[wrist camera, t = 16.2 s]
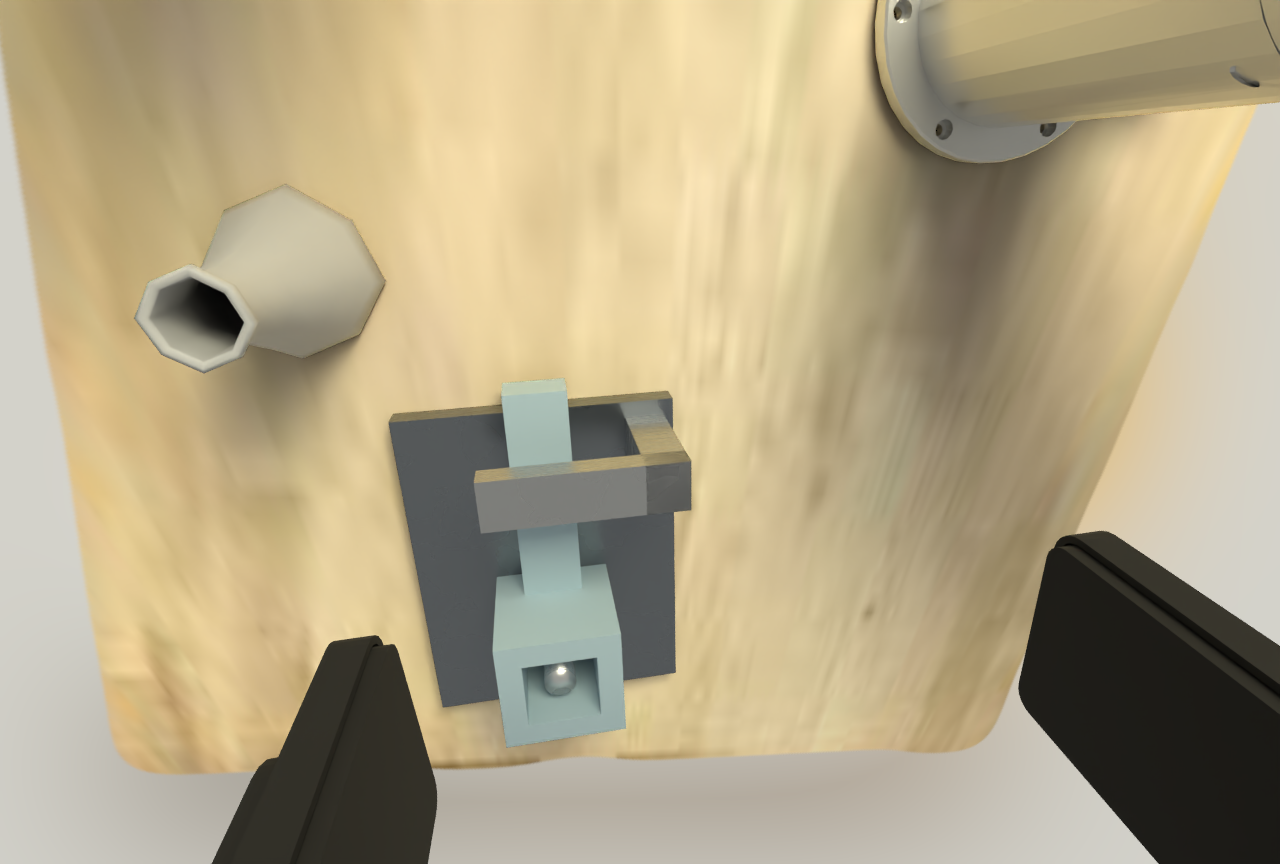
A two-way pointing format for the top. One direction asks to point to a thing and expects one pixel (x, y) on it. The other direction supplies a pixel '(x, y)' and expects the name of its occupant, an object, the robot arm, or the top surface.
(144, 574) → the top surface
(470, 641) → the base
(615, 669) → the link
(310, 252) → the flask
